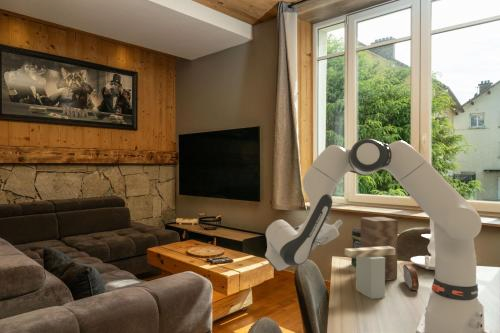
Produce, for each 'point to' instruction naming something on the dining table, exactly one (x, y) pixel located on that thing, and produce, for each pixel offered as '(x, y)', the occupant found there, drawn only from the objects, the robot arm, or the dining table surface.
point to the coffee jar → (356, 242)
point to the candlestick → (427, 260)
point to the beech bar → (369, 251)
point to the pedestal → (371, 276)
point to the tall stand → (381, 239)
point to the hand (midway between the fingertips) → (334, 219)
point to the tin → (410, 277)
